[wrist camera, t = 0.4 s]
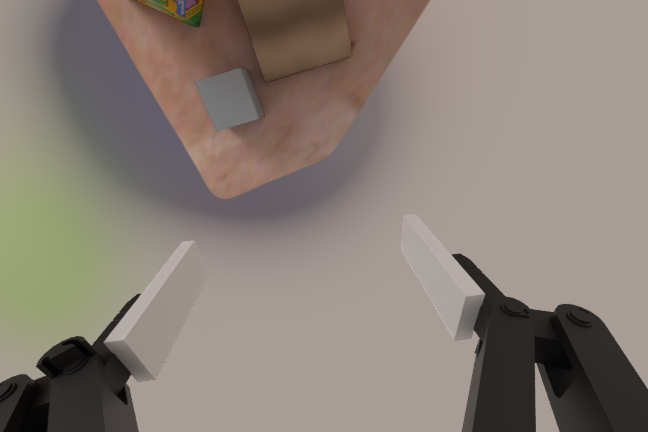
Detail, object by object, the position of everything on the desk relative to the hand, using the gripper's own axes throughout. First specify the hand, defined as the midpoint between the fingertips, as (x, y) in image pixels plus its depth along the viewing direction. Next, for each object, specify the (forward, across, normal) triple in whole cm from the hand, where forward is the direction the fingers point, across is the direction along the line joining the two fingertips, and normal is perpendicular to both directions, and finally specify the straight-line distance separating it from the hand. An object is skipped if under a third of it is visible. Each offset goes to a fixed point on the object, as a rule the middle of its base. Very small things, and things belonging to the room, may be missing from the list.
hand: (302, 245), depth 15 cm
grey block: (+27, -9, +8) cm, 29 cm away
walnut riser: (+27, +1, +17) cm, 32 cm away
